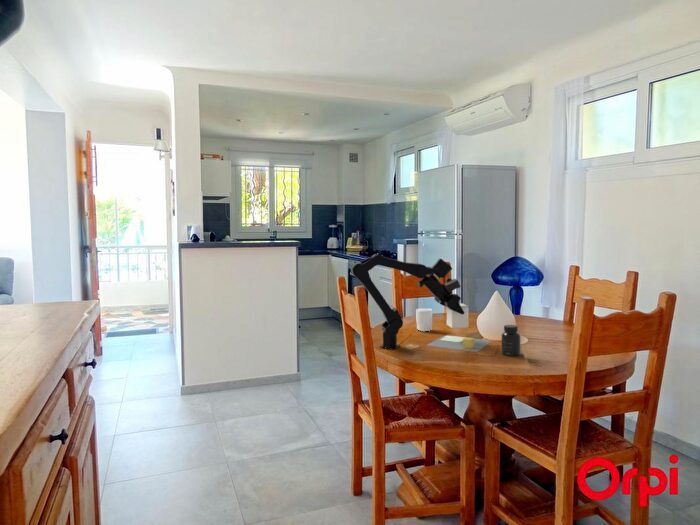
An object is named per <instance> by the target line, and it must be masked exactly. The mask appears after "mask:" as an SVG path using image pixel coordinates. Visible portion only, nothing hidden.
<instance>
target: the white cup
mask: <svg viewBox="0 0 700 525" xmlns="http://www.w3.org/2000/svg"><path fill="white" fill-rule="evenodd" d="M415 316H416V317H415V318H416V319H415V320H416V330H417V329H418V330H421V331H429V332H431V331H432V330H433V329H432V327H433V309H432V308H426V307H425V308H424V307H422V308H421V307H420V308H416V309H415ZM418 330H417V331H418ZM430 330H431V331H430Z"/></svg>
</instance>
